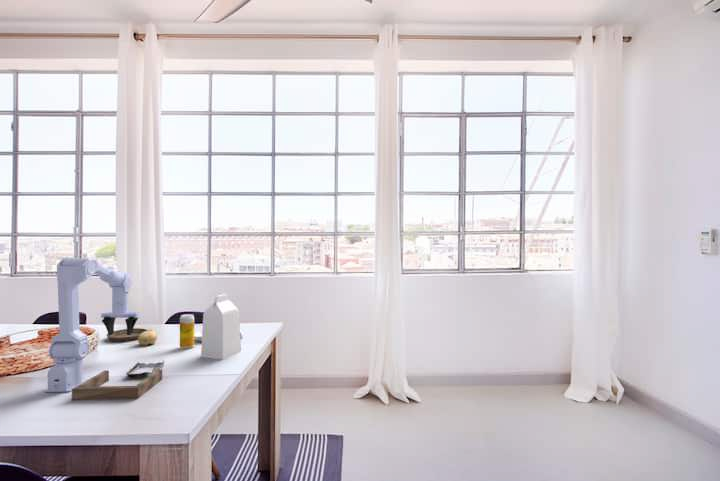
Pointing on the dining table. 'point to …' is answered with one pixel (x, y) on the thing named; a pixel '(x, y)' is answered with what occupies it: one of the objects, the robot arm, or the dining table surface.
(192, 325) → the yellow bottle
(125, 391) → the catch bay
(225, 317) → the milk
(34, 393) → the dining table surface
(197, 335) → the spoon rest
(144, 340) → the beige rounded lump
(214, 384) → the dining table surface
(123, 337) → the plant saucer
